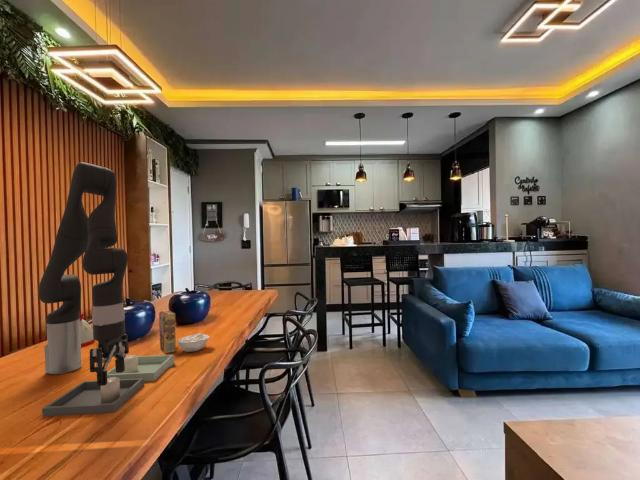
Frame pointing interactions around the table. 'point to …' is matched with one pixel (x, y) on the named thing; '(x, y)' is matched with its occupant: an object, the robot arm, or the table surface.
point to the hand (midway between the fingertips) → (111, 378)
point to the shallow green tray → (146, 368)
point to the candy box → (167, 331)
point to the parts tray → (91, 399)
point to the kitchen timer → (85, 332)
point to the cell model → (193, 342)
